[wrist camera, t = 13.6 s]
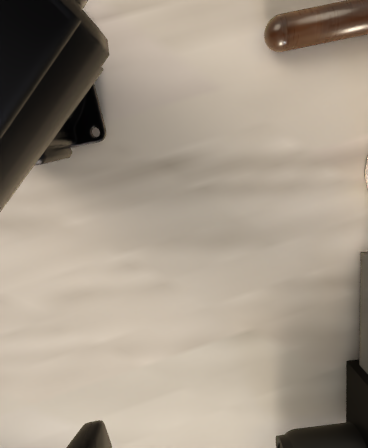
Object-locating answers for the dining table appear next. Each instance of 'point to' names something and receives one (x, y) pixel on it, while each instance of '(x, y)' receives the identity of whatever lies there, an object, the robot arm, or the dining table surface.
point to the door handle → (355, 396)
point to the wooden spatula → (317, 25)
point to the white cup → (366, 172)
